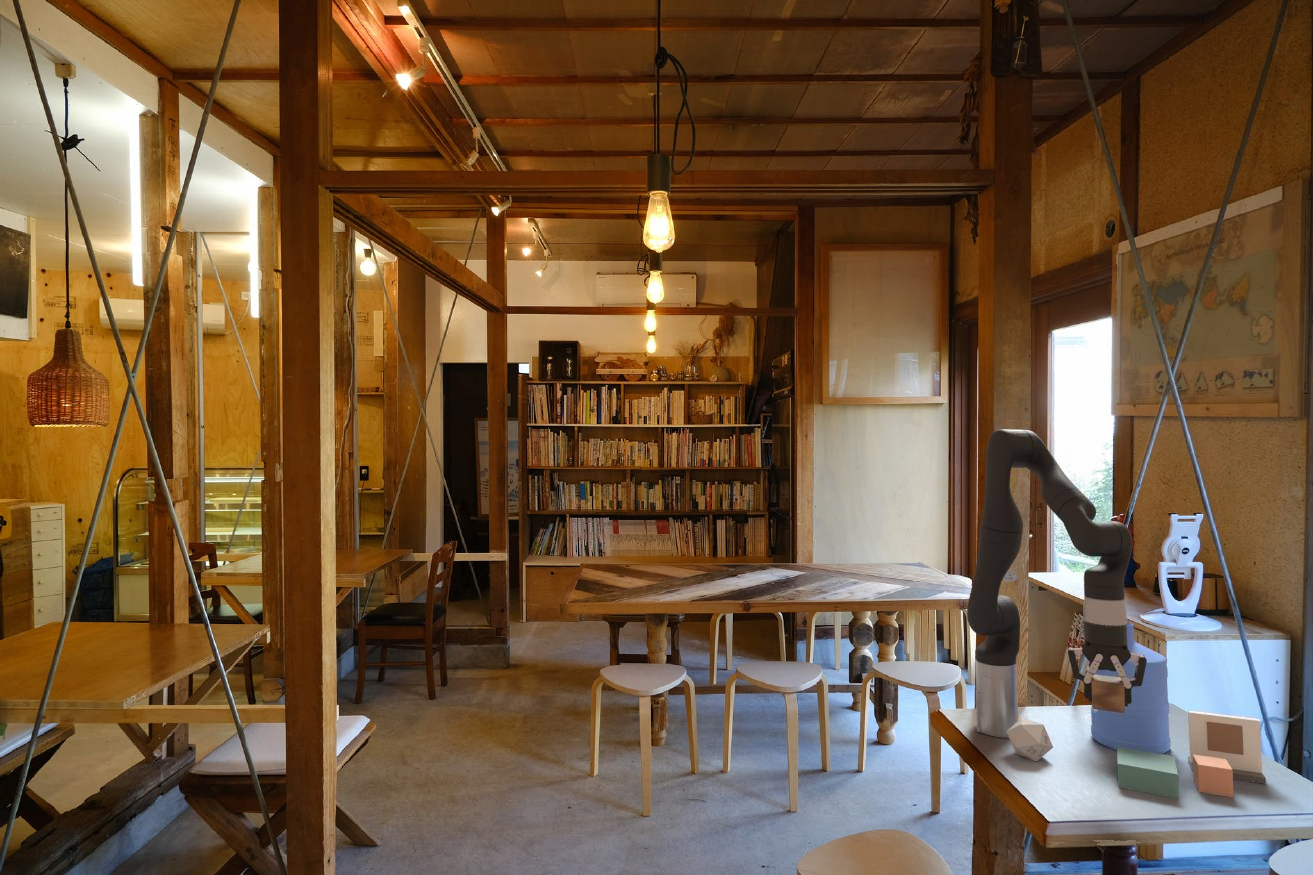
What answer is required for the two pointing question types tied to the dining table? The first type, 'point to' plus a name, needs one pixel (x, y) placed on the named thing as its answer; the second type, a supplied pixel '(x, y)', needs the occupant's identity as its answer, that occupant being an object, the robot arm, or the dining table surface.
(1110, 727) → the water jug
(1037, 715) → the dining table surface
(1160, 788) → the base block
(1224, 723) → the placard
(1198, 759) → the terracotta block
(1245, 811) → the dining table surface
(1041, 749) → the die
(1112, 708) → the walnut block
